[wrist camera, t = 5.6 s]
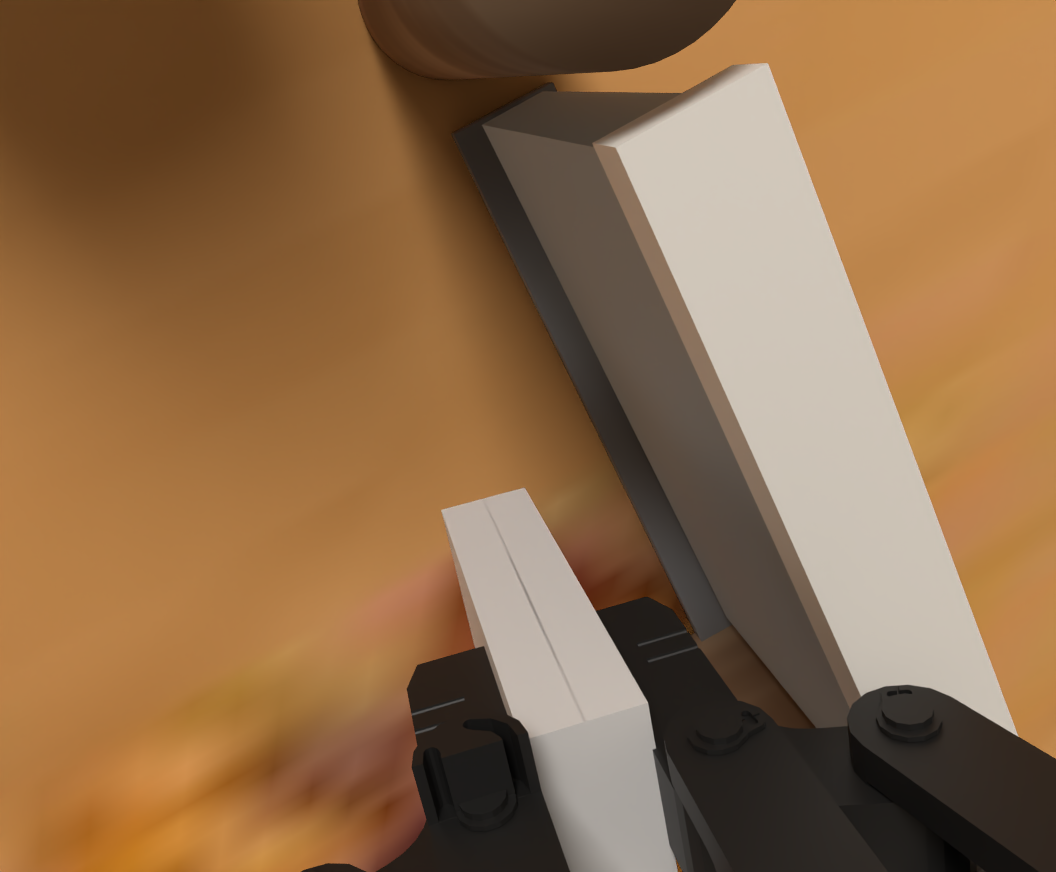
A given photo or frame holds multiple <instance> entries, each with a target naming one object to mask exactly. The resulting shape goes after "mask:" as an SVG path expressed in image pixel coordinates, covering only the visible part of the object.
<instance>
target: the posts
mask: <svg viewBox="0 0 1056 872" xmlns="http://www.w3.org/2000/svg"><path fill="white" fill-rule="evenodd" d="M735 1H736V0H358V4H359V8H360V11H361V15H362V18H363V20H364V22H365V25H366V27H367V29H368V31H369V32H370V34H371V36H372V38H373V39H374V41H375V42H376V43H377V45H378V46H379V47H380V49H381V50H382V51H383V52H384V53H385V54H386V55H387V56H388V57H389V58H391V59H392V60H393V61H394V62H396V63H397V64H398V65H400V66H401V67H403V68H405V69H406V70H408V71H410V72H412V73H415V74H417V75H420V76H423V77H426V78H431V79H437V80H460V79H479V78H498V77H517V76H536V75H555V74H574V73H593V72H612V71H620V70H627V69H634V68H638V67H641V66H645V65H648V64H652V63H655V62H658V61H660V60H662V59H665V58H667V57H669V56H671V55H674V54H676V53H677V52H679V51H681V50H682V49H684V48H685V47H687V46H689V45H690V44H692V43H694V42H695V41H696V40H697V39H699V38H700V37H701V36H702V35H704V34H705V33H706V32H707V31H708V30H710V29H711V28H712V27H713V26H714V25H715V24H716V23H717V22H718V21H719V20H720V19H721V18H722V17H723V16H724V14H725V13H726V12H727V11H728V10H729V9H730V8H731V6H732V5H733V3H734V2H735ZM542 91H553V92H557V90H556V88H555V86H554V84H553V83H546V84H544V85H542V86H541V87H539V88H537V89H535V90H533V91H531V92H529V93H527V94H525V95H523V96H522V97H520V98H518V99H516V100H514V101H512V102H510V103H508V104H506V105H504V106H503V107H501V108H499V109H497V110H495V111H493V112H491V113H489V114H487V115H485V116H484V117H482V118H480V119H478V120H476V121H474V122H472V123H470V124H468V125H467V126H465V127H463V128H461V129H459V130H457V131H455V132H453V133H451V135H452V137H453V139H454V141H455V143H456V145H457V147H458V149H459V151H460V154H461V156H462V158H463V160H464V162H465V164H466V166H467V168H468V170H469V172H470V174H471V176H472V178H473V180H474V182H475V184H476V186H477V188H478V190H479V192H480V194H481V196H482V198H483V201H484V203H485V205H486V207H487V209H488V211H489V213H490V215H491V217H492V219H493V221H494V223H495V225H496V227H497V229H498V231H499V233H500V235H501V237H502V239H503V241H504V243H505V245H506V248H507V250H508V252H509V254H510V256H511V258H512V260H513V262H514V264H515V266H516V268H517V270H518V272H519V274H520V276H521V278H522V280H523V282H524V284H525V286H526V288H527V290H528V292H529V295H530V297H531V299H532V301H533V303H534V305H535V307H536V309H537V311H538V313H539V315H540V317H541V319H542V321H543V323H544V325H545V327H546V329H547V331H548V333H549V335H550V337H551V339H552V342H553V344H554V346H555V348H556V350H557V352H558V354H559V356H560V358H561V360H562V362H563V364H564V366H565V368H566V370H567V372H568V374H569V376H570V378H571V380H572V382H573V384H574V386H575V389H576V391H577V393H578V395H579V397H580V399H581V401H582V403H583V405H584V407H585V409H586V411H587V413H588V415H589V417H590V419H591V421H592V423H593V425H594V427H595V429H596V431H597V433H598V436H599V438H600V440H601V442H602V444H603V446H604V448H605V450H606V452H607V454H608V456H609V458H610V460H611V462H612V464H613V466H614V468H615V470H616V472H617V474H618V476H619V478H620V480H621V483H622V485H623V487H624V489H625V491H626V493H627V495H628V497H629V499H630V501H631V503H632V505H633V507H634V509H635V511H636V513H637V515H638V517H639V519H640V521H641V523H642V525H643V527H644V530H645V532H646V534H647V536H648V538H649V540H650V542H651V544H652V546H653V548H654V550H655V552H656V554H657V556H658V558H659V560H660V562H661V564H662V566H663V568H664V570H665V572H666V574H667V577H668V579H669V581H670V583H671V585H672V587H673V589H674V591H675V593H676V595H677V597H678V599H679V601H680V603H681V605H682V607H683V609H684V611H685V613H686V615H687V617H688V619H689V621H690V624H691V626H692V628H693V630H694V632H695V633H694V634H692V635H691V636H692V638H693V639H694V640H695V642H696V643H697V646H698V648H700V649H701V650H702V652H703V653H704V654H705V656H706V657H707V658H708V660H709V661H710V663H711V664H712V665H713V667H714V668H715V670H716V671H717V672H718V674H719V675H720V676H721V678H722V679H723V681H724V682H725V683H726V685H727V686H728V688H729V689H730V690H731V692H732V693H733V695H734V696H735V697H736V699H737V700H738V701H743V702H746V703H748V704H751V705H754V706H757V707H759V708H761V709H762V710H763V711H764V712H765V713H767V714H768V715H769V716H770V717H771V718H773V720H774V721H775V722H776V724H777V725H778V726H782V727H788V728H803V729H813V728H816V727H815V726H814V724H813V723H812V722H811V721H810V720H809V718H808V717H807V716H806V715H805V713H804V712H803V711H802V710H801V708H800V707H799V706H798V705H797V703H796V702H795V701H794V700H793V699H792V697H791V696H790V695H789V694H788V692H787V691H786V690H785V689H784V687H783V686H782V685H781V684H780V683H779V681H778V680H777V679H776V678H775V676H774V675H773V674H772V673H771V671H770V670H769V669H768V668H767V667H766V665H765V664H764V663H763V662H762V660H761V659H760V658H759V657H758V655H757V654H756V653H755V652H754V650H753V649H752V648H751V647H750V646H749V644H748V643H747V642H746V641H745V639H744V638H743V637H742V636H741V634H740V633H739V632H738V631H737V630H736V628H735V627H734V626H733V625H732V623H731V622H730V621H729V620H728V618H727V617H726V615H725V613H724V611H723V609H722V607H721V605H720V603H719V601H718V599H717V597H716V595H715V593H714V591H713V589H712V587H711V585H710V583H709V581H708V579H707V577H706V575H705V573H704V571H703V569H702V567H701V565H700V563H699V561H698V559H697V557H696V555H695V553H694V551H693V549H692V547H691V545H690V543H689V541H688V539H687V537H686V535H685V533H684V531H683V529H682V527H681V525H680V523H679V521H678V519H677V517H676V515H675V513H674V510H673V508H672V506H671V504H670V502H669V500H668V498H667V496H666V494H665V492H664V490H663V488H662V486H661V484H660V482H659V480H658V478H657V476H656V474H655V472H654V470H653V468H652V466H651V464H650V462H649V460H648V458H647V456H646V454H645V452H644V450H643V448H642V446H641V444H640V442H639V440H638V438H637V436H636V434H635V432H634V430H633V428H632V426H631V424H630V422H629V420H628V418H627V416H626V414H625V412H624V410H623V408H622V406H621V404H620V402H619V400H618V398H617V396H616V394H615V392H614V390H613V388H612V386H611V384H610V382H609V380H608V378H607V376H606V374H605V372H604V370H603V368H602V366H601V364H600V362H599V360H598V358H597V356H596V354H595V352H594V350H593V348H592V346H591V343H590V341H589V339H588V337H587V335H586V333H585V331H584V329H583V327H582V325H581V323H580V321H579V319H578V317H577V315H576V313H575V311H574V309H573V307H572V305H571V303H570V301H569V299H568V297H567V295H566V293H565V291H564V289H563V287H562V285H561V283H560V281H559V279H558V277H557V275H556V273H555V271H554V269H553V267H552V265H551V263H550V261H549V259H548V257H547V255H546V253H545V251H544V249H543V247H542V245H541V243H540V241H539V239H538V237H537V235H536V233H535V231H534V229H533V227H532V225H531V223H530V221H529V219H528V217H527V215H526V213H525V211H524V209H523V207H522V205H521V203H520V201H519V199H518V197H517V195H516V193H515V191H514V189H513V187H512V185H511V183H510V181H509V179H508V176H507V174H506V172H505V170H504V168H503V166H502V164H501V162H500V160H499V158H498V156H497V154H496V152H495V150H494V148H493V146H492V144H491V142H490V140H489V138H488V136H487V134H486V132H485V130H484V128H483V126H482V125H483V124H484V123H486V122H488V121H490V120H492V119H493V118H495V117H497V116H499V115H501V114H502V113H504V112H506V111H508V110H510V109H511V108H513V107H515V106H517V105H519V104H521V103H522V102H524V101H526V100H528V99H530V98H531V97H533V96H535V95H537V94H539V93H540V92H542Z"/></svg>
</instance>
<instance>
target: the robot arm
mask: <svg viewBox="0 0 1056 872" xmlns="http://www.w3.org/2000/svg"><path fill="white" fill-rule="evenodd" d="M441 511H442V515H443V519H444V523H445V527H446V531H447V536H448V540H449V544H450V548H451V552H452V556H453V560H454V564H455V568H456V572H457V576H458V580H459V584H460V589H461V593H462V597H463V601H464V605H465V609H466V613H467V617H468V621H469V625H470V629H471V633H472V637H473V642H474V645H475V649H471V650H468V651H465V652H461V653H458V654H454V655H451V656H447V657H444V658H440V659H437V660H433V661H430V662H426V663H423V664H419V665H417V667H416V669H415V671H414V674H413V676H412V678H411V681H410V683H409V685H408V688H407V692H408V698H409V703H410V708H411V713H412V719H413V725H414V730H415V734H416V741H417V747H416V749H415V750H414V753H413V761H412V770H413V774H414V777H415V781H416V784H417V787H418V791H419V794H420V798H421V801H422V805H423V808H424V812H425V815H426V819H427V820H426V823H425V826H424V828H423V830H422V832H421V833H420V835H419V836H418V838H417V839H416V841H415V842H414V843H413V844H412V845H411V846H410V847H409V848H408V849H407V850H406V851H405V852H404V853H403V854H402V855H401V856H399V857H398V858H396V859H395V860H394V861H392V862H391V863H389V864H388V865H386V866H385V867H383V868H381V869H380V870H378V871H376V872H678V870H677V865H676V859H677V861H678V863H679V865H680V867H681V869H682V871H683V872H1056V759H1055V758H1053V757H1052V756H1050V755H1048V754H1047V753H1045V752H1043V751H1041V750H1040V749H1038V748H1036V747H1035V746H1033V745H1031V744H1030V743H1028V742H1026V741H1025V740H1023V739H1021V738H1020V737H1018V736H1016V735H1015V734H1013V733H1011V732H1010V731H1008V730H1006V729H1005V728H1003V727H1001V726H1000V725H998V724H996V723H995V722H993V721H991V720H990V719H988V718H986V717H984V716H983V715H981V714H979V713H978V712H976V711H974V710H973V709H971V708H969V707H968V706H966V705H964V704H963V703H961V702H959V701H958V700H956V699H954V698H953V697H951V696H948V695H946V694H944V693H941V692H939V691H936V690H934V689H932V688H926V687H920V686H913V685H897V686H885V687H882V688H879V689H876V690H873V691H870V692H867V693H865V694H864V695H863V696H861V697H860V698H859V699H858V700H856V701H855V702H854V703H853V704H852V706H851V708H850V711H849V713H848V716H847V725H848V726H842V727H828V728H813V729H803V728H788V727H782V726H778V725H777V724H776V722H775V721H774V720H773V718H771V717H770V716H769V715H768V714H767V713H765V712H764V711H763V710H762V709H761V708H759V707H757V706H754V705H751V704H748V703H746V702H743V701H738V700H737V699H736V697H735V696H734V695H733V693H732V692H731V690H730V689H729V688H728V686H727V685H726V683H725V682H724V681H723V679H722V678H721V676H720V675H719V674H718V672H717V671H716V670H715V668H714V667H713V665H712V664H711V663H710V661H709V660H708V658H707V657H706V656H705V654H704V653H703V652H702V650H701V649H700V648H698V646H697V643H696V642H695V640H694V639H693V638H692V636H691V635H690V634H689V632H688V633H687V631H686V628H685V627H684V625H683V624H682V622H681V621H680V620H679V618H678V617H677V616H676V614H675V613H674V611H673V610H672V609H670V608H668V607H666V606H664V605H662V604H660V603H658V602H657V601H655V600H653V599H651V598H649V597H644V598H640V599H637V600H633V601H630V602H626V603H623V604H619V605H616V606H612V607H609V608H605V609H602V610H598V611H595V609H594V608H593V606H592V604H591V602H590V601H589V599H588V597H587V596H586V594H585V592H584V590H583V589H582V587H581V585H580V583H579V582H578V580H577V578H576V576H575V575H574V573H573V571H572V569H571V568H570V566H569V564H568V562H567V561H566V559H565V557H564V555H563V554H562V552H561V550H560V548H559V547H558V545H557V543H556V541H555V540H554V538H553V536H552V534H551V533H550V531H549V529H548V527H547V526H546V524H545V522H544V521H543V519H542V517H541V515H540V514H539V512H538V510H537V508H536V507H535V505H534V503H533V501H532V500H531V498H530V496H529V494H528V493H527V491H526V489H525V488H521V489H518V490H514V491H510V492H506V493H503V494H499V495H495V496H491V497H488V498H484V499H480V500H476V501H473V502H469V503H465V504H461V505H458V506H454V507H450V508H446V509H443V510H441ZM675 857H676V859H675ZM302 872H366V871H363V870H361V869H359V868H357V867H354V866H352V865H350V864H329V863H327V864H324V865H320V866H317V867H313V868H309V869H306V870H303V871H302Z"/></svg>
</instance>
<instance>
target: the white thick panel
mask: <svg viewBox="0 0 1056 872" xmlns="http://www.w3.org/2000/svg"><path fill="white" fill-rule="evenodd" d="M482 126H483V128H484V130H485V132H486V134H487V136H488V138H489V140H490V142H491V144H492V146H493V148H494V150H495V152H496V154H497V156H498V158H499V160H500V162H501V164H502V166H503V168H504V170H505V172H506V174H507V176H508V179H509V181H510V183H511V185H512V187H513V189H514V191H515V193H516V195H517V197H518V199H519V201H520V203H521V205H522V207H523V209H524V211H525V213H526V215H527V217H528V219H529V221H530V223H531V225H532V227H533V229H534V231H535V233H536V235H537V237H538V239H539V241H540V243H541V245H542V247H543V249H544V251H545V253H546V255H547V257H548V259H549V261H550V263H551V265H552V267H553V269H554V271H555V273H556V275H557V277H558V279H559V281H560V283H561V285H562V287H563V289H564V291H565V293H566V295H567V297H568V299H569V301H570V303H571V305H572V307H573V309H574V311H575V313H576V315H577V317H578V319H579V321H580V323H581V325H582V327H583V329H584V331H585V333H586V335H587V337H588V339H589V341H590V343H591V346H592V348H593V350H594V352H595V354H596V356H597V358H598V360H599V362H600V364H601V366H602V368H603V370H604V372H605V374H606V376H607V378H608V380H609V382H610V384H611V386H612V388H613V390H614V392H615V394H616V396H617V398H618V400H619V402H620V404H621V406H622V408H623V410H624V412H625V414H626V416H627V418H628V420H629V422H630V424H631V426H632V428H633V430H634V432H635V434H636V436H637V438H638V440H639V442H640V444H641V446H642V448H643V450H644V452H645V454H646V456H647V458H648V460H649V462H650V464H651V466H652V468H653V470H654V472H655V474H656V476H657V478H658V480H659V482H660V484H661V486H662V488H663V490H664V492H665V494H666V496H667V498H668V500H669V502H670V504H671V506H672V508H673V510H674V513H675V515H676V517H677V519H678V521H679V523H680V525H681V527H682V529H683V531H684V533H685V535H686V537H687V539H688V541H689V543H690V545H691V547H692V549H693V551H694V553H695V555H696V557H697V559H698V561H699V563H700V565H701V567H702V569H703V571H704V573H705V575H706V577H707V579H708V581H709V583H710V585H711V587H712V589H713V591H714V593H715V595H716V597H717V599H718V601H719V603H720V605H721V607H722V609H723V611H724V613H725V615H726V617H727V618H728V620H729V621H730V622H731V623H732V625H733V626H734V627H735V628H736V630H737V631H738V632H739V633H740V634H741V636H742V637H743V638H744V639H745V641H746V642H747V643H748V644H749V646H750V647H751V648H752V649H753V650H754V652H755V653H756V654H757V655H758V657H759V658H760V659H761V660H762V662H763V663H764V664H765V665H766V667H767V668H768V669H769V670H770V671H771V673H772V674H773V675H774V676H775V678H776V679H777V680H778V681H779V683H780V684H781V685H782V686H783V687H784V689H785V690H786V691H787V692H788V694H789V695H790V696H791V697H792V699H793V700H794V701H795V702H796V703H797V705H798V706H799V707H800V708H801V710H802V711H803V712H804V713H805V715H806V716H807V717H808V718H809V720H810V721H811V722H812V723H813V724H814V726H815V727H816V728H828V727H842V726H848V725H847V716H848V713H849V711H850V708H851V706H852V704H853V703H854V702H855V701H856V700H858V699H859V698H860V697H861V696H863V695H864V694H865V693H867V692H870V691H873V690H876V689H879V688H882V687H885V686H897V685H913V686H920V687H926V688H932V689H934V690H936V691H939V692H941V693H944V694H946V695H948V696H951V697H953V698H954V699H956V700H958V701H959V702H961V703H963V704H964V705H966V706H968V707H969V708H971V709H973V710H974V711H976V712H978V713H979V714H981V715H983V716H984V717H986V718H988V719H990V720H991V721H993V722H995V723H996V724H998V725H1000V726H1001V727H1003V728H1005V729H1006V730H1008V731H1010V732H1011V733H1013V734H1015V735H1016V736H1018V734H1017V732H1016V729H1015V726H1014V724H1013V721H1012V718H1011V716H1010V713H1009V710H1008V708H1007V705H1006V702H1005V699H1004V697H1003V694H1002V691H1001V689H1000V686H999V683H998V681H997V678H996V675H995V673H994V670H993V667H992V665H991V662H990V659H989V656H988V654H987V651H986V648H985V646H984V643H983V640H982V638H981V635H980V632H979V630H978V627H977V624H976V622H975V619H974V616H973V613H972V611H971V608H970V605H969V603H968V600H967V597H966V595H965V592H964V589H963V587H962V584H961V581H960V578H959V576H958V573H957V570H956V568H955V565H954V562H953V560H952V557H951V554H950V552H949V549H948V546H947V544H946V541H945V538H944V535H943V533H942V530H941V527H940V525H939V522H938V519H937V517H936V514H935V511H934V509H933V506H932V503H931V501H930V498H929V495H928V492H927V490H926V487H925V484H924V482H923V479H922V476H921V474H920V471H919V468H918V466H917V463H916V460H915V457H914V455H913V452H912V449H911V447H910V444H909V441H908V439H907V436H906V433H905V431H904V428H903V425H902V423H901V420H900V417H899V414H898V412H897V409H896V406H895V404H894V401H893V398H892V396H891V393H890V390H889V388H888V385H887V382H886V380H885V377H884V374H883V371H882V369H881V366H880V363H879V361H878V358H877V355H876V353H875V350H874V347H873V345H872V342H871V339H870V336H869V334H868V331H867V328H866V326H865V323H864V320H863V318H862V315H861V312H860V310H859V307H858V304H857V302H856V299H855V296H854V293H853V291H852V288H851V285H850V283H849V280H848V277H847V275H846V272H845V269H844V267H843V264H842V261H841V259H840V256H839V253H838V250H837V248H836V245H835V242H834V240H833V237H832V234H831V232H830V229H829V226H828V224H827V221H826V218H825V216H824V213H823V210H822V207H821V205H820V202H819V199H818V197H817V194H816V191H815V189H814V186H813V183H812V181H811V178H810V175H809V172H808V170H807V167H806V164H805V162H804V159H803V156H802V154H801V151H800V148H799V146H798V143H797V140H796V138H795V135H794V132H793V129H792V127H791V124H790V121H789V119H788V116H787V113H786V111H785V108H784V105H783V103H782V100H781V97H780V95H779V92H778V89H777V86H776V84H775V81H774V78H773V76H772V73H771V70H770V68H769V65H768V63H761V64H742V65H732V66H730V67H728V68H727V69H725V70H723V71H721V72H719V73H718V74H716V75H714V76H712V77H710V78H709V79H707V80H705V81H703V82H701V83H700V84H698V85H696V86H694V87H692V88H691V89H689V90H687V91H685V92H683V93H627V92H553V91H542V92H540V93H539V94H537V95H535V96H533V97H531V98H530V99H528V100H526V101H524V102H522V103H521V104H519V105H517V106H515V107H513V108H511V109H510V110H508V111H506V112H504V113H502V114H501V115H499V116H497V117H495V118H493V119H492V120H490V121H488V122H486V123H484V124H483V125H482Z"/></svg>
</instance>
